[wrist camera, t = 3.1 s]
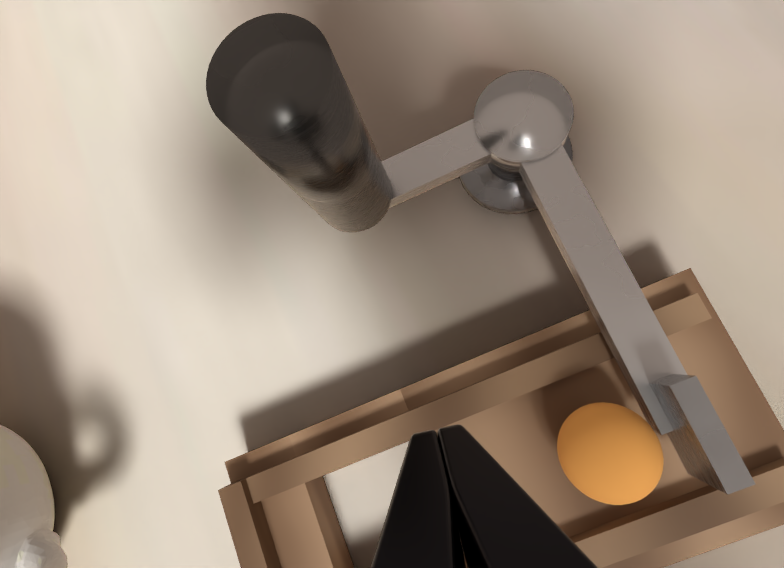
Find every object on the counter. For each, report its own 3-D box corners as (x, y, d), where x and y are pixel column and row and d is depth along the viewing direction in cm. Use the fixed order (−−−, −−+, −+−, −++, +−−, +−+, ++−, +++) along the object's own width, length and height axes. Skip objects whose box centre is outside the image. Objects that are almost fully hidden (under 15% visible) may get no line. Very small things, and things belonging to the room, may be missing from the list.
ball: (606, 508, 16) (638, 543, 13) (532, 447, 17) (546, 468, 14) (660, 438, 16) (705, 456, 13) (584, 380, 17) (609, 385, 14)
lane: (668, 277, 19) (703, 262, 16) (788, 491, 17) (853, 518, 14) (247, 452, 21) (211, 467, 18) (314, 663, 19) (285, 718, 16)
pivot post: (539, 94, 21) (549, 55, 19) (589, 185, 20) (607, 158, 18) (441, 140, 22) (436, 108, 19) (484, 231, 21) (487, 212, 18)
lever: (542, 70, 18) (604, -176, 10) (753, 449, 15) (1115, 565, 7) (311, 179, 19) (186, 40, 11) (461, 558, 16) (450, 782, 7)
